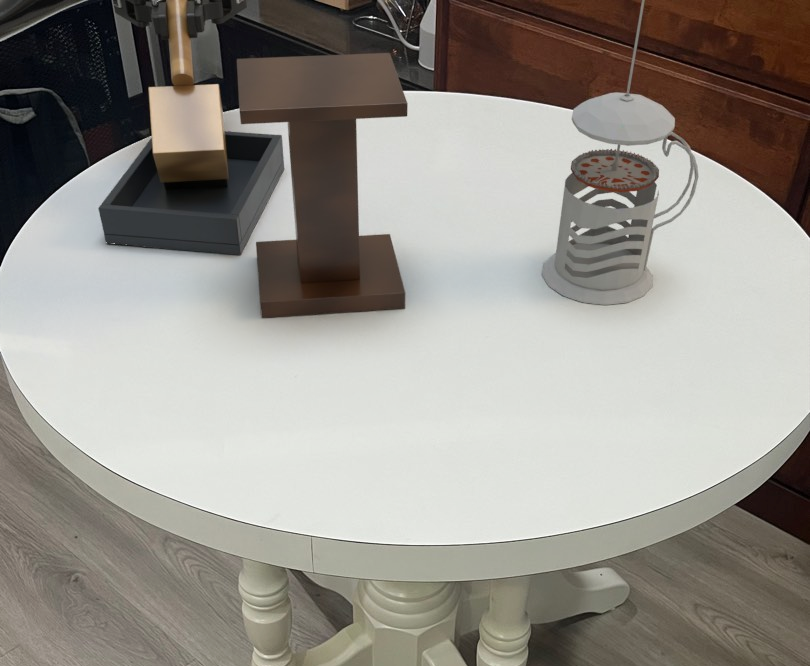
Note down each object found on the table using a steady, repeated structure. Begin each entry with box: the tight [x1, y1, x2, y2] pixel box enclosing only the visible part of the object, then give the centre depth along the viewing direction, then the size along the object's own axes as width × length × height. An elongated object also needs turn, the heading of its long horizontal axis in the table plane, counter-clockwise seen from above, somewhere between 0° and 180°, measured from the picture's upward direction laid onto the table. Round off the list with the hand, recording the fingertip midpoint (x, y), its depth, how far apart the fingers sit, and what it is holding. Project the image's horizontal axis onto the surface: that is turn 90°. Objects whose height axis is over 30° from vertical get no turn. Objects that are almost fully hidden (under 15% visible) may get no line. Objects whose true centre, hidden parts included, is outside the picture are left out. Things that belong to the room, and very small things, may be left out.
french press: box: [541, 0, 699, 306], centre depth 79 cm, size 10×12×25 cm
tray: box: [97, 130, 285, 256], centre depth 95 cm, size 18×13×4 cm
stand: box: [236, 52, 409, 319], centre depth 80 cm, size 12×10×17 cm
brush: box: [147, 0, 229, 190], centre depth 94 cm, size 6×19×8 cm
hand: (177, 27), depth 91 cm, fingers closed on brush, 2 cm apart
